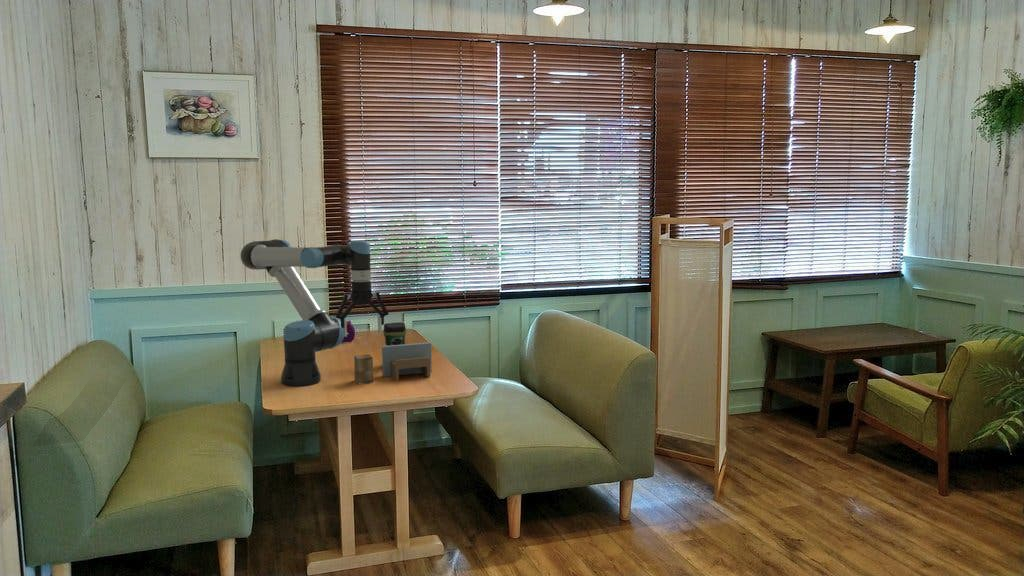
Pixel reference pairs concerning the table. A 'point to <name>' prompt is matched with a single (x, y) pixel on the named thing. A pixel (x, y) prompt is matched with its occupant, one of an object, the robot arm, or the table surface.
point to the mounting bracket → (349, 332)
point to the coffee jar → (394, 333)
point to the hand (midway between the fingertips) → (362, 334)
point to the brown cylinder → (363, 368)
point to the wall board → (406, 359)
